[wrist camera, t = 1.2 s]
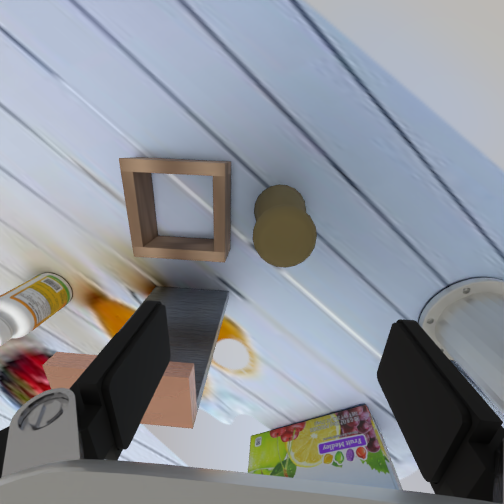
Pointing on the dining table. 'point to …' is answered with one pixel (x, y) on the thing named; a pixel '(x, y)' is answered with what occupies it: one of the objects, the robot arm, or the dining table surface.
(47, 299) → the supplement bottle
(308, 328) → the dining table surface
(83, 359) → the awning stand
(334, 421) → the snack box
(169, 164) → the socket block
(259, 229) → the cork
